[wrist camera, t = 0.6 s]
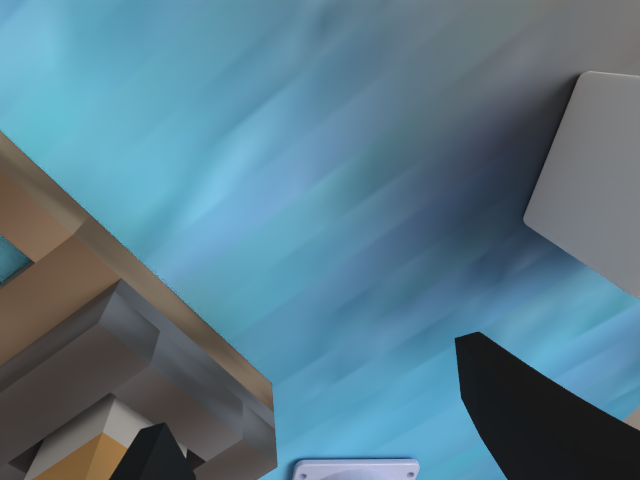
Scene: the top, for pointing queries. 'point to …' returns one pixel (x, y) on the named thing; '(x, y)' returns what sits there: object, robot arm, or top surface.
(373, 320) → the top surface
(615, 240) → the medicine bottle
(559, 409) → the robot arm
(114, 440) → the plug
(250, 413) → the wooden base
